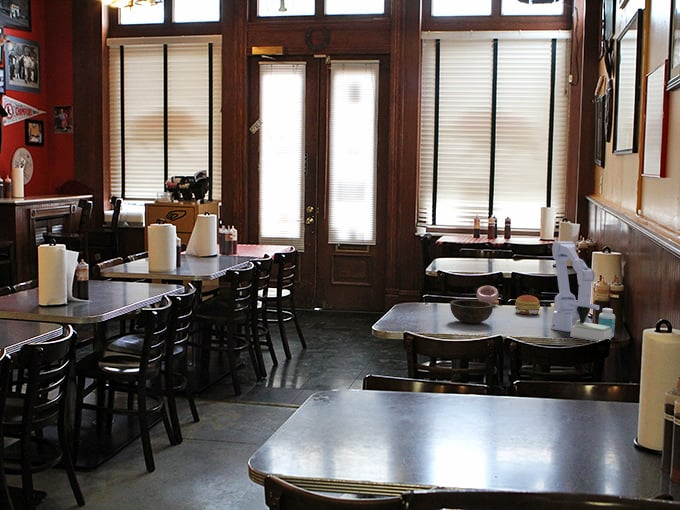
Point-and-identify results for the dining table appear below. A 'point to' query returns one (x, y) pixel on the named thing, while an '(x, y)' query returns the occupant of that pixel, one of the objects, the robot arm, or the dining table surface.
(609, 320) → the pill bottle
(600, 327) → the lid
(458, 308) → the bowl
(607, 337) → the housing
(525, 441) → the dining table surface
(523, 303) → the burger
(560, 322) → the robot arm
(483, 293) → the pink round pot
